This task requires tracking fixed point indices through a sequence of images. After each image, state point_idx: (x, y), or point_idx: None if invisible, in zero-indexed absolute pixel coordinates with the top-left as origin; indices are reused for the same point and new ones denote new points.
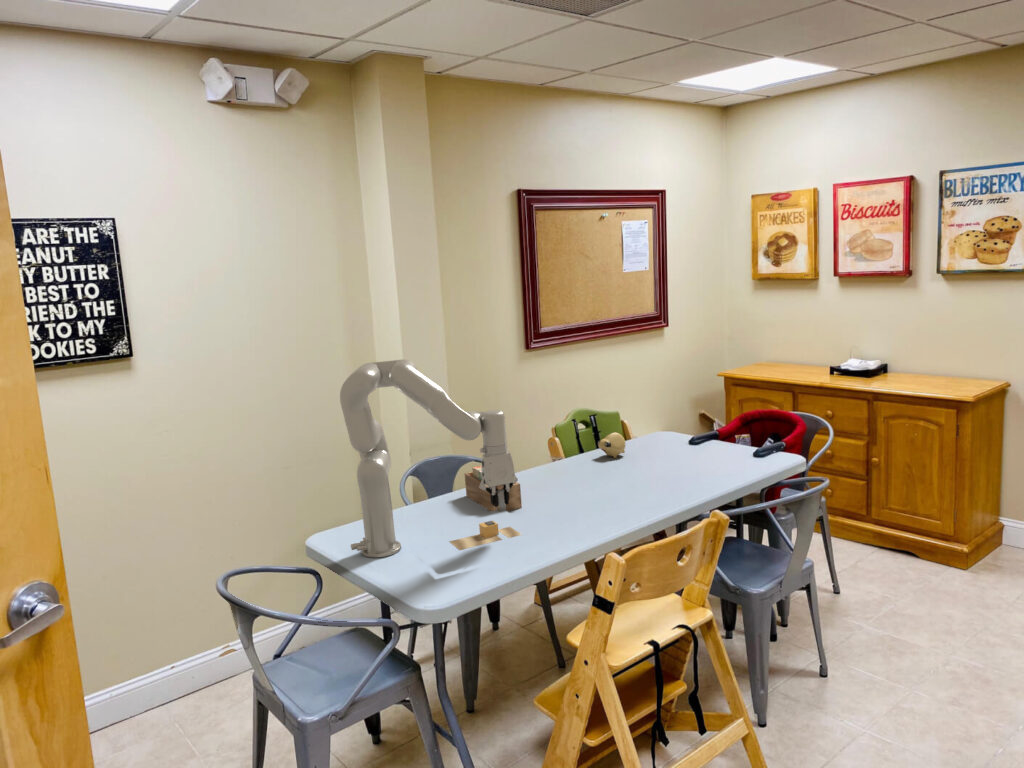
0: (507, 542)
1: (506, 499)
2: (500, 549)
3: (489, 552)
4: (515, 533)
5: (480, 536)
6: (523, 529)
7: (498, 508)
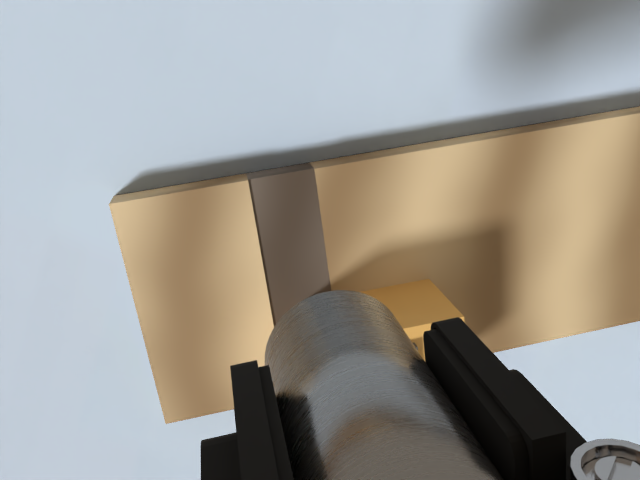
0: (265, 160)
1: (273, 408)
2: (368, 31)
3: (470, 12)
4: (162, 258)
5: None
6: (55, 381)
7: (398, 325)
